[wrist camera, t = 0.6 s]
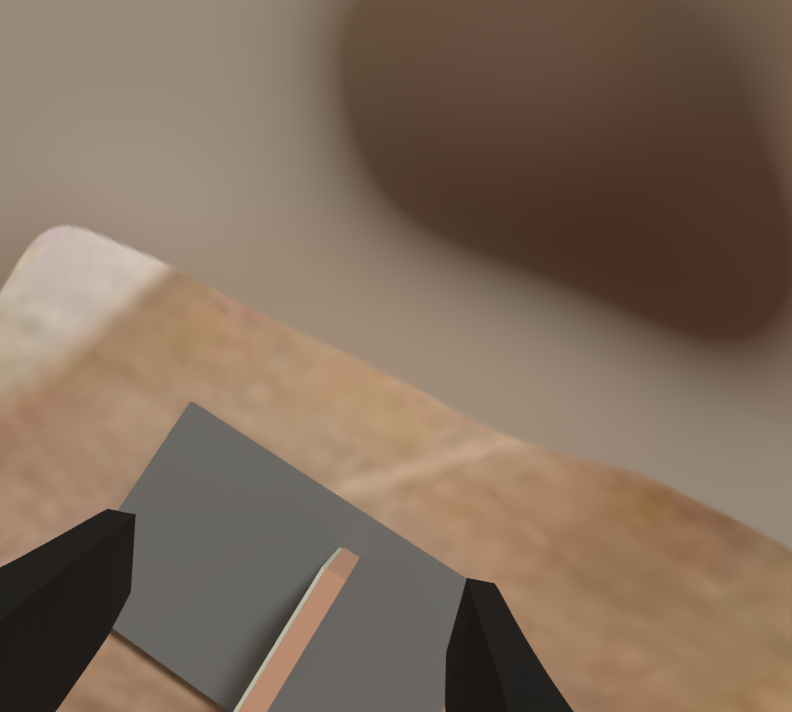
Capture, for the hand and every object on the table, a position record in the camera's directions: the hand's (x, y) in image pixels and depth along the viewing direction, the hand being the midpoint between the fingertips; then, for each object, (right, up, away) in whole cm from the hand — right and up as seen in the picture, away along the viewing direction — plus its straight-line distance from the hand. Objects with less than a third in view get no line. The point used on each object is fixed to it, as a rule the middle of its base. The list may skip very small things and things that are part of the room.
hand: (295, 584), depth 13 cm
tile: (-2, -9, +19) cm, 21 cm away
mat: (-4, -8, +19) cm, 21 cm away
